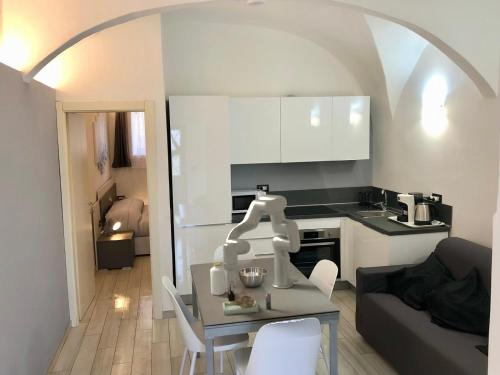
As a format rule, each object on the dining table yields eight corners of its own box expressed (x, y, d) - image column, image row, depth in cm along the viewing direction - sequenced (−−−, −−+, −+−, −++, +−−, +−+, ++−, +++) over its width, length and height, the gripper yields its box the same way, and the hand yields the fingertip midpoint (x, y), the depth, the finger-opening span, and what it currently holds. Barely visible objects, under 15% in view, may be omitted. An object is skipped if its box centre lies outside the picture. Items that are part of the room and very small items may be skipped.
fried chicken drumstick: (250, 305, 245) (252, 296, 244) (252, 309, 238) (254, 300, 238) (228, 301, 243) (230, 292, 242) (229, 305, 236) (232, 296, 236)
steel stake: (270, 307, 242) (270, 293, 241) (271, 309, 239) (271, 295, 239) (265, 308, 242) (265, 293, 241) (266, 310, 239) (266, 295, 238)
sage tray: (255, 304, 248) (255, 299, 248) (258, 312, 236) (258, 307, 236) (222, 306, 246) (222, 302, 246) (224, 314, 234) (224, 310, 234)
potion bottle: (211, 291, 271) (210, 262, 269) (225, 290, 271) (224, 261, 269) (211, 296, 262) (210, 266, 260) (225, 295, 263) (224, 265, 261)
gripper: (222, 262, 245) (223, 295, 247) (224, 270, 229) (225, 305, 231) (236, 261, 246) (236, 294, 248) (239, 269, 230) (240, 304, 232)
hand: (231, 299), depth 239 cm, fingers closed on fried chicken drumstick, 3 cm apart
